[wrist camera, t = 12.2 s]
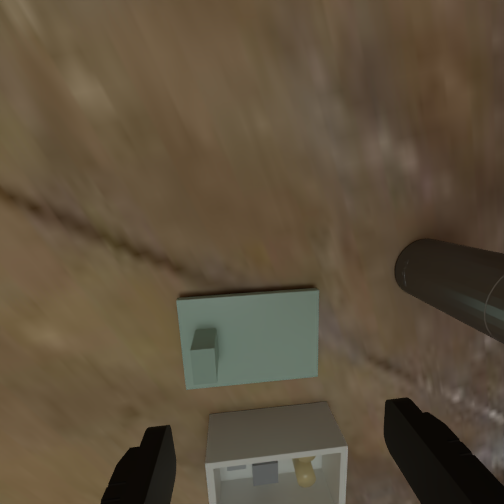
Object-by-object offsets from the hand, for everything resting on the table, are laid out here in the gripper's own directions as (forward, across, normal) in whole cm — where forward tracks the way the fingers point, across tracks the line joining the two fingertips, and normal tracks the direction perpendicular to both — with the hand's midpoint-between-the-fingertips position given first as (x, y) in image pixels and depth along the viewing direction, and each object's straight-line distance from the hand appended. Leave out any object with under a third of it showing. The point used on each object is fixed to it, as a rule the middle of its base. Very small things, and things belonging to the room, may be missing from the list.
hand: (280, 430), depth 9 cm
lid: (+29, 0, +12) cm, 31 cm away
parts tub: (+28, -2, +34) cm, 44 cm away
